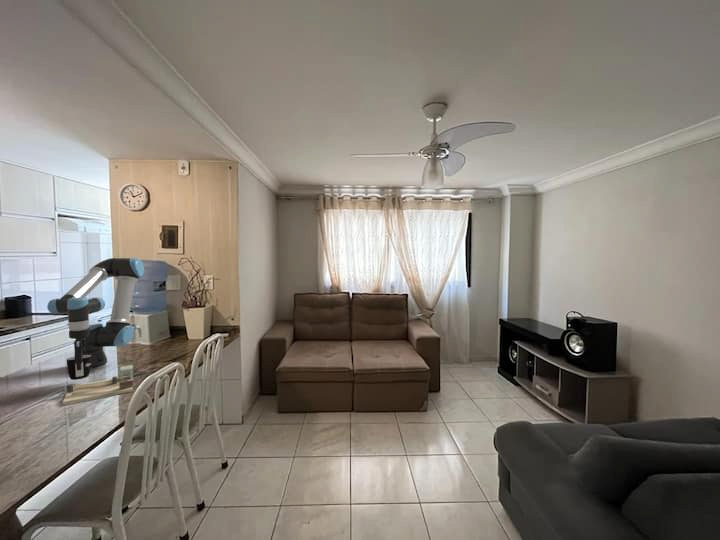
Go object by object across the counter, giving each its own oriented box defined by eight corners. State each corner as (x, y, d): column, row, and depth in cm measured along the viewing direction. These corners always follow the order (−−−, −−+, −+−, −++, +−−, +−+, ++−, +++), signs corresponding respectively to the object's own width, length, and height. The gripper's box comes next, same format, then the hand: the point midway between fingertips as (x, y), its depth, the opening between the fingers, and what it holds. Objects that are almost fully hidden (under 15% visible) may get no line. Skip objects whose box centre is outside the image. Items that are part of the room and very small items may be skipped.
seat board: (70, 389, 148) (70, 379, 148) (132, 378, 162) (132, 369, 162) (62, 405, 132) (62, 395, 131) (132, 391, 146) (132, 382, 146)
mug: (87, 378, 151) (86, 357, 151) (63, 382, 147) (62, 360, 147) (97, 372, 162) (96, 352, 162) (75, 374, 158) (74, 354, 158)
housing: (120, 376, 159) (120, 366, 159) (132, 374, 162) (132, 364, 162) (120, 380, 154) (120, 370, 154) (132, 378, 157) (132, 368, 157)
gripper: (72, 324, 161) (74, 365, 162) (64, 336, 141) (67, 382, 143) (91, 323, 165) (93, 362, 167) (86, 333, 146) (88, 378, 148)
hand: (81, 371), depth 155 cm, fingers closed on mug, 12 cm apart
